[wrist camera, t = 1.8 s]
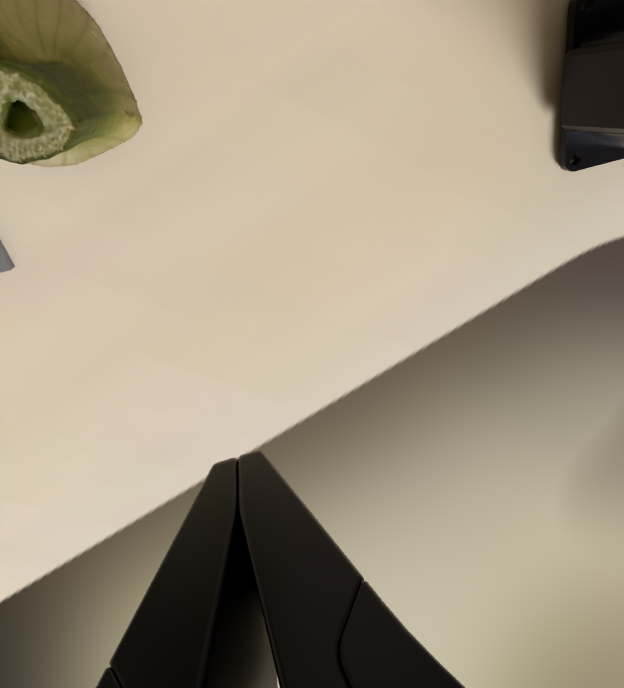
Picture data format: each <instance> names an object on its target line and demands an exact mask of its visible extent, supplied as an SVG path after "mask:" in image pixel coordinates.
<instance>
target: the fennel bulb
mask: <svg viewBox="0 0 624 688" xmlns="http://www.w3.org/2000/svg"><path fill="white" fill-rule="evenodd" d="M141 125H142V117H141V114H140V112H139V110H138V107H137V101H136V99H135V98H134V95H133V92H132V90H131V88H130V86H129V84H128V81H127V79H126V77H125V75H124V72H123V70H122V67H121V65H120V63H119V62H118V60H117V58H116V56H115V54H114V52H113V50H112V48H111V46H110V45H109V43H108V41H107V40H106V38H105V36H104V35H103V33H102V31H101V29H100V27H99V26H98V25H97V23H96V22H95V20H94V19H93V18H92V17H91V16H90V14H89V13H88V12H87V11H86V10H85V9H84V8H83V7H81V6H80V5H79V3H78V2H77V1H75V0H0V159H3V160H6V161H9V162H13V163H18V164H26V163H28V164H32V165H38V166H42V167H57V166H68V165H75V164H79V163H81V162H84V161H86V160H88V159H90V158H92V157H95V156H97V155H99V154H101V153H103V152H105V151H107V150H109V149H111V148H114V147H115V146H117V145H119V144H121V143H122V142H123V143H124V142H125V141H126V140H128V139H130V138H131V137H133V136H134V135H135V134H136V132H137V131H138V130H139V128H140V126H141Z"/></svg>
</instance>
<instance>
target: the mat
mask: <svg viewBox="0 0 624 688" xmlns="http://www.w3.org/2000/svg"><path fill="white" fill-rule="evenodd" d="M14 267H15V266H14V264H13V262H12V260H11V259H10V257H9V255H8V253H7V251H6V249H5V248H4V246H3V244H2V242H1V240H0V272H4V271H8V270H11V269H13V268H14Z"/></svg>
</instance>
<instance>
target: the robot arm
mask: <svg viewBox="0 0 624 688" xmlns="http://www.w3.org/2000/svg"><path fill="white" fill-rule="evenodd" d="M582 1H583V0H570V2H569V7H568V19H567V35H566V52H565V62H564V78H563V95H562V111H561V134H560V151H559V166H560V167H561V169H563V170H566V171H578V170H582V169H585V168H589V167H593V166H597V165H601V164H604V163H608V162H612V161H616V160H620V159H624V0H586V8H585V10H584V11H583V10H582V6H581V5H582ZM573 154H574V155H575V158H574V161H573V162H572V163H571V162H570V160H571V157H572V156H573ZM110 666H111V667H108V668H106V669H105V671H104V673H103V675H102V677H101V678H100V680H99V682H98V684H97V686H96V688H278V687H277V677H278V681H279V685H280V688H465V687H464V686H463V685H462V684H461V683H460V682H459V681H458V680H457V679H456V678H455V677H454V676H453V675H452V674H450V673H449V672H448V671H447V670H446V669H445V668H444V667H443V666H442V665H441V664H440V663H439V662H438V661H437V660H436V659H435V658H434V657H433V656H432V655H431V654H430V653H429V652H428V651H427V650H426V649H425V647H423V645H422V644H421V643H420V642H419V641H418V640H417V639H416V638H415V637H414V636H413V635H412V634H411V633H410V632H409V631H408V630H407V629H406V628H405V627H404V625H403V624H402V623H401V622H400V621H399V619H398V618H397V617H396V616H395V615H394V614H393V613H392V611H391V610H390V609H389V608H388V607H387V606H386V604H385V603H384V602H383V601H382V600H381V598H380V597H379V596H378V595H377V593H376V592H375V591H374V590H373V589H372V587H371V586H370V585H369V584H368V582H366V581H364V578H363V576H362V575H361V574H360V573H359V571H358V570H357V569H356V568H355V567H354V565H353V564H352V563H351V562H350V560H349V559H348V558H347V556H346V555H345V554H344V553H343V551H342V550H341V549H340V548H339V546H338V545H337V544H336V543H335V542H334V540H333V539H332V538H331V537H330V535H329V534H328V533H327V531H326V530H325V529H324V528H323V526H322V525H321V524H320V523H319V521H318V520H317V519H316V518H315V516H314V515H313V514H312V513H311V511H310V510H309V509H308V508H307V507H306V505H305V504H304V503H303V501H302V500H301V499H300V498H299V496H298V495H297V494H296V493H295V492H294V490H293V489H292V488H291V486H290V485H289V484H288V483H287V481H286V480H285V479H284V478H283V477H282V475H281V474H280V473H279V471H278V470H277V469H276V468H275V467H274V465H273V464H272V463H271V461H270V460H269V459H268V458H267V457H266V455H265V454H264V453H263V452H262V451H261V450H257V451H253V452H250V453H247V454H244V455H241V456H240V457H239V459H237V458H231V459H228V460H224V461H221V462H218V463H216V464H214V465H213V466H212V468H211V470H210V472H209V474H208V476H207V477H206V479H205V481H204V483H203V485H202V487H201V489H200V491H199V493H198V495H197V496H196V499H195V500H194V502H193V504H192V506H191V508H190V510H189V512H188V514H187V515H186V518H185V519H184V521H183V523H182V525H181V527H180V529H179V531H178V533H177V535H176V536H175V538H174V540H173V542H172V544H171V546H170V548H169V550H168V552H167V554H166V555H165V557H164V559H163V561H162V563H161V565H160V567H159V569H158V571H157V573H156V574H155V577H154V578H153V580H152V582H151V584H150V586H149V588H148V590H147V592H146V593H145V595H144V597H143V599H142V601H141V603H140V605H139V607H138V609H137V611H136V612H135V614H134V616H133V618H132V620H131V622H130V624H129V626H128V628H127V630H126V631H125V633H124V635H123V637H122V639H121V641H120V643H119V645H118V647H117V649H116V651H115V652H114V654H113V656H112V658H111V660H110Z"/></svg>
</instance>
